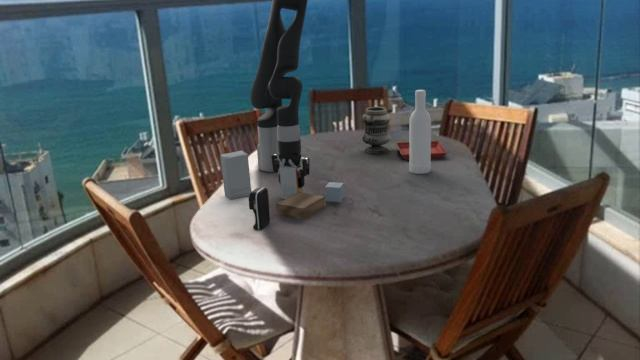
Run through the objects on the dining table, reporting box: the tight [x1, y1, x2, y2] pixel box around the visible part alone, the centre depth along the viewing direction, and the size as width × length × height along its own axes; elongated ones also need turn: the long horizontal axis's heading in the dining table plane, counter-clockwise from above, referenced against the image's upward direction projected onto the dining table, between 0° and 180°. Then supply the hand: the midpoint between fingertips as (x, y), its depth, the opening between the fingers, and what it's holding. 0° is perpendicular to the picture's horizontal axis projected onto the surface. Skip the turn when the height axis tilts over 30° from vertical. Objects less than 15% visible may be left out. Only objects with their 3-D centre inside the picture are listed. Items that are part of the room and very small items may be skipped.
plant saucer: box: [396, 140, 447, 161], centre depth 246 cm, size 18×18×3 cm
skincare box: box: [219, 150, 252, 200], centre depth 205 cm, size 8×6×15 cm
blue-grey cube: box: [324, 181, 345, 203], centre depth 198 cm, size 5×5×5 cm
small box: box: [280, 166, 304, 200], centre depth 203 cm, size 8×6×10 cm
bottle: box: [408, 89, 432, 175], centre depth 220 cm, size 8×8×30 cm
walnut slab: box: [275, 192, 326, 220], centre depth 189 cm, size 10×12×4 cm
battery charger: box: [248, 187, 271, 231], centre depth 177 cm, size 7×4×11 cm, turn 161°
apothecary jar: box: [361, 106, 392, 154], centre depth 252 cm, size 12×12×18 cm
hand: (292, 185), depth 203 cm, fingers closed on small box, 6 cm apart
